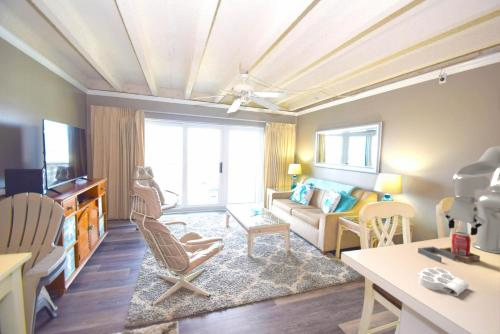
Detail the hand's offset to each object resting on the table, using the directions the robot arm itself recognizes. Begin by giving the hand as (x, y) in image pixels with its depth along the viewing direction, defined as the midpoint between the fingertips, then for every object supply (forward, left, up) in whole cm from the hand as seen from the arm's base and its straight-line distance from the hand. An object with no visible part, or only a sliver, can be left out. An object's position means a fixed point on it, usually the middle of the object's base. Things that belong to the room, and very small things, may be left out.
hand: (462, 231), depth 114 cm
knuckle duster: (+38, +16, -14) cm, 44 cm away
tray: (+1, 0, -14) cm, 14 cm away
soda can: (+1, +1, -13) cm, 13 cm away
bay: (+13, -3, -14) cm, 19 cm away
